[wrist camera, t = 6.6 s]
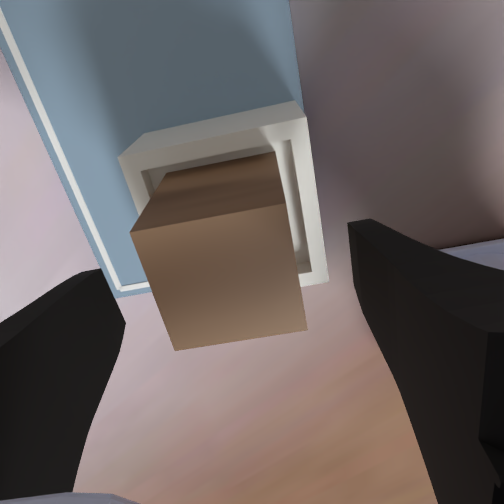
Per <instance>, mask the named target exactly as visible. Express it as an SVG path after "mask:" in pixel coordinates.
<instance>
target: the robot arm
mask: <svg viewBox="0 0 504 504" xmlns="http://www.w3.org/2000/svg"><path fill="white" fill-rule="evenodd" d="M347 224H348V234H349V243H350V253H351V263H352V272H353V282H354V287H355V290H356V293H357V296H358V300H359V303H360V306H361V309H362V312H363V314H364V316H365V318H366V321H367V323H368V325H369V327H370V329H371V331H372V333H373V335H374V337H375V339H376V341H377V343H378V345H379V348H380V350H381V352H382V354H383V356H384V358H385V360H386V362H387V364H388V366H389V368H390V370H391V372H392V374H393V376H394V379H395V381H396V384H397V386H398V388H399V391H400V393H401V396H402V399H403V402H404V404H405V407H406V410H407V413H408V416H409V418H410V421H411V424H412V427H413V430H414V433H415V436H416V439H417V442H418V444H419V447H420V450H421V453H422V456H423V459H424V462H425V465H426V468H427V471H428V474H429V477H430V480H431V483H432V486H433V489H434V493H435V496H436V499H437V502H438V504H504V239H498V240H492V241H487V242H481V243H475V244H470V245H464V246H458V247H453V248H447V249H441V250H437V249H434V248H432V247H429V246H427V245H425V244H422V243H420V242H418V241H416V240H413V239H411V238H409V237H407V236H405V235H403V234H401V233H399V232H397V231H395V230H393V229H391V228H389V227H387V226H385V225H383V224H381V223H379V222H377V221H375V220H372V219H365V220H360V221H354V222H349V223H347ZM125 325H126V322H125V320H124V318H123V316H122V313H121V311H120V309H119V307H118V304H117V302H116V300H115V298H114V296H113V293H112V291H111V289H110V287H109V285H108V282H107V280H106V278H105V276H104V273H103V271H102V269H95V270H90V271H84V272H81V273H79V274H76V275H74V276H73V277H71V278H69V279H67V280H66V281H64V282H62V283H61V284H59V285H58V286H56V287H54V288H53V289H51V290H50V291H48V292H47V293H45V294H44V295H42V296H41V297H39V298H38V299H36V300H35V301H33V302H32V303H30V304H29V305H27V306H26V307H24V308H23V309H21V310H20V311H18V312H17V313H15V314H13V315H12V316H10V317H9V318H7V319H6V320H4V321H2V322H1V323H0V504H139V503H137V502H134V501H131V500H128V499H125V498H122V497H120V496H117V495H114V494H102V493H73V492H72V491H73V487H74V483H75V479H76V475H77V470H78V467H79V463H80V460H81V456H82V452H83V449H84V445H85V442H86V438H87V435H88V432H89V429H90V426H91V423H92V420H93V418H94V415H95V413H96V410H97V408H98V405H99V403H100V400H101V398H102V395H103V393H104V390H105V388H106V386H107V383H108V381H109V378H110V376H111V373H112V370H113V368H114V365H115V363H116V360H117V357H118V355H119V352H120V348H121V344H122V340H123V335H124V330H125Z"/></svg>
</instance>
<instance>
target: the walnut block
mask: <svg viewBox="0 0 504 504" xmlns="http://www.w3.org/2000/svg"><path fill="white" fill-rule="evenodd" d="M129 233H130V236H131V238H132V241H133V244H134V246H135V249H136V251H137V254H138V257H139V259H140V262H141V264H142V267H143V270H144V272H145V275H146V277H147V280H148V283H149V285H150V288H151V290H152V293H153V296H154V298H155V301H156V303H157V306H158V308H159V311H160V314H161V316H162V319H163V321H164V324H165V327H166V329H167V332H168V334H169V337H170V340H171V342H172V345H173V347H174V350H175V351H178V350H184V349H191V348H197V347H203V346H210V345H216V344H222V343H229V342H235V341H242V340H248V339H254V338H261V337H267V336H273V335H280V334H286V333H293V332H299V331H305V330H308V328H307V322H306V317H305V311H304V305H303V299H302V293H301V287H300V281H299V276H298V270H297V264H296V258H295V252H294V246H293V240H292V234H291V229H290V223H289V217H288V211H287V205H286V200H285V195H284V191H283V186H282V181H281V176H280V172H279V167H278V162H277V157H276V153H275V151H273V152H268V153H263V154H258V155H253V156H248V157H243V158H238V159H233V160H228V161H223V162H218V163H213V164H208V165H203V166H198V167H193V168H188V169H183V170H178V171H173V172H168V173H166V174H165V176H164V178H163V179H162V181H161V182H160V184H159V186H158V187H157V189H156V190H155V192H154V194H153V195H152V197H151V198H150V200H149V202H148V203H147V205H146V206H145V208H144V210H143V211H142V213H141V214H140V216H139V218H138V219H137V221H136V222H135V224H134V226H133V227H132V229H131V231H130V232H129Z"/></svg>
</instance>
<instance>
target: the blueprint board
mask: <svg viewBox="0 0 504 504" xmlns="http://www.w3.org/2000/svg"><path fill="white" fill-rule="evenodd" d="M0 48H1V50H2V52H3V54H4V57H5V59H6V61H7V63H8V65H9V68H10V70H11V72H12V74H13V76H14V79H15V81H16V83H17V85H18V87H19V90H20V92H21V94H22V96H23V98H24V101H25V103H26V105H27V107H28V110H29V112H30V114H31V116H32V118H33V121H34V123H35V125H36V127H37V129H38V132H39V134H40V136H41V138H42V140H43V143H44V145H45V147H46V149H47V151H48V154H49V156H50V158H51V160H52V162H53V165H54V167H55V169H56V171H57V173H58V176H59V178H60V180H61V182H62V184H63V187H64V189H65V191H66V193H67V196H68V198H69V200H70V202H71V204H72V207H73V209H74V211H75V213H76V215H77V218H78V220H79V222H80V224H81V226H82V229H83V231H84V233H85V235H86V237H87V240H88V242H89V244H90V246H91V248H92V251H93V253H94V255H95V257H96V259H97V262H98V264H99V266H100V268H101V269H102V271H103V273H104V276H105V278H106V280H107V282H108V285H109V287H110V289H111V291H112V293H113V296H114V298H120V297H126V296H131V295H137V294H143V293H148V292H152V290H151V288H150V285H149V283H148V280H147V277H146V275H145V272H144V270H143V267H142V264H141V262H140V259H139V257H138V254H137V251H136V249H135V246H134V244H133V241H132V238H131V236H130V233H129V232H130V231H131V229H132V227H133V226H134V224H135V222H136V221H137V219H138V218H139V216H140V214H141V213H142V211H143V210H144V208H145V206H146V205H147V203H148V202H149V200H150V198H151V197H152V195H153V194H154V192H155V190H156V189H157V187H158V186H159V184H160V182H161V181H162V179H163V178H164V176H165V174H166V173H168V172H173V171H178V170H183V169H188V168H193V167H198V166H203V165H208V164H213V163H218V162H223V161H228V160H233V159H238V158H243V157H248V156H253V155H258V154H263V153H268V152H273V151H275V153H276V157H277V162H278V167H279V172H280V176H281V181H282V186H283V191H284V195H285V200H286V205H287V211H288V217H289V223H290V229H291V234H292V240H293V246H294V252H295V258H296V264H297V270H298V276H299V281H300V287H303V286H309V285H315V284H320V283H326V282H329V277H328V269H327V262H326V255H325V248H324V240H323V233H322V226H321V218H320V211H319V204H318V197H317V189H316V182H315V175H314V167H313V160H312V153H311V146H310V138H309V131H308V124H307V117H306V115H305V114H304V107H303V99H302V92H301V85H300V78H299V71H298V64H297V56H296V49H295V42H294V35H293V28H292V20H291V13H290V6H289V0H0Z"/></svg>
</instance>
